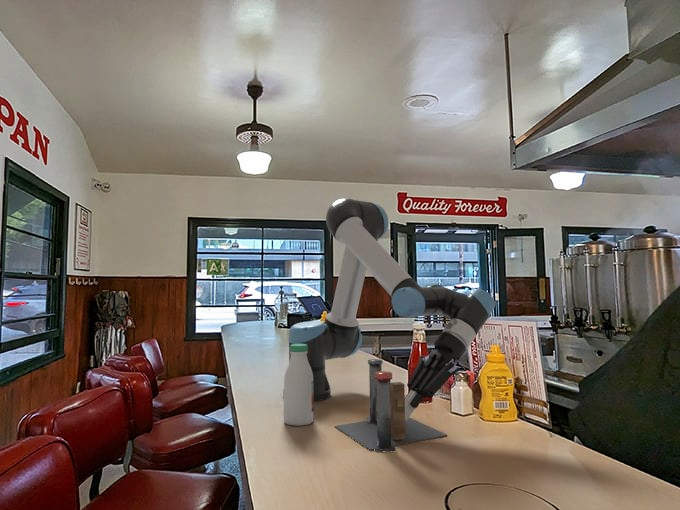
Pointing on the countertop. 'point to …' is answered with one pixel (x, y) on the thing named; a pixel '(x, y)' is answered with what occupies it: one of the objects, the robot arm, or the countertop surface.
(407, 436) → the bar mat
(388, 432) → the post
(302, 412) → the milk bottle
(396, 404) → the gate
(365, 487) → the countertop surface
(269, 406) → the countertop surface
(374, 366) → the hinge post
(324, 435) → the countertop surface
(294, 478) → the countertop surface
